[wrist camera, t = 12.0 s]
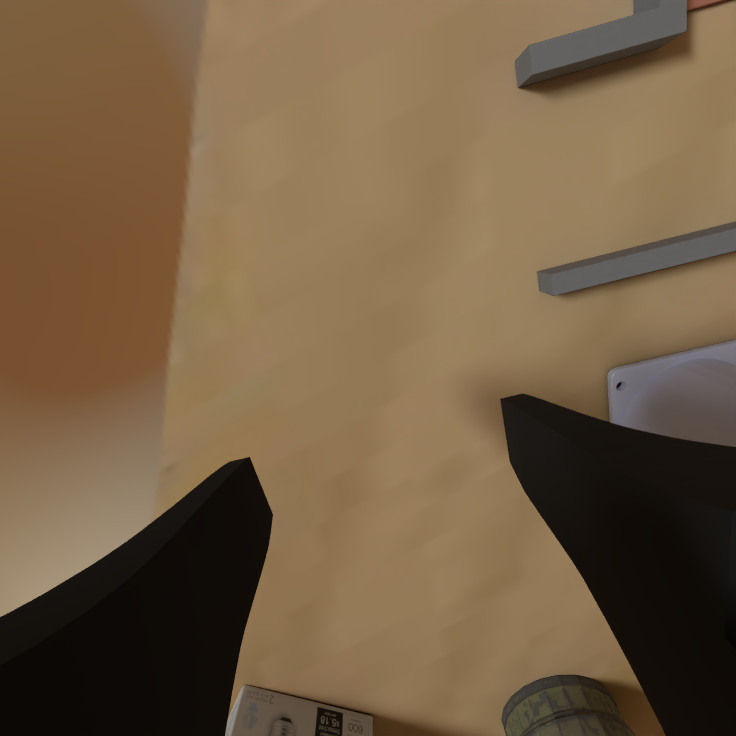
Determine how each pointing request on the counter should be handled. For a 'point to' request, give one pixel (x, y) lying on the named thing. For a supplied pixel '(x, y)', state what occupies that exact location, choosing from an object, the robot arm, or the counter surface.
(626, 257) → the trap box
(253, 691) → the light bulb box
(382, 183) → the counter surface
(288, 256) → the counter surface
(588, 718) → the grey stone statue
